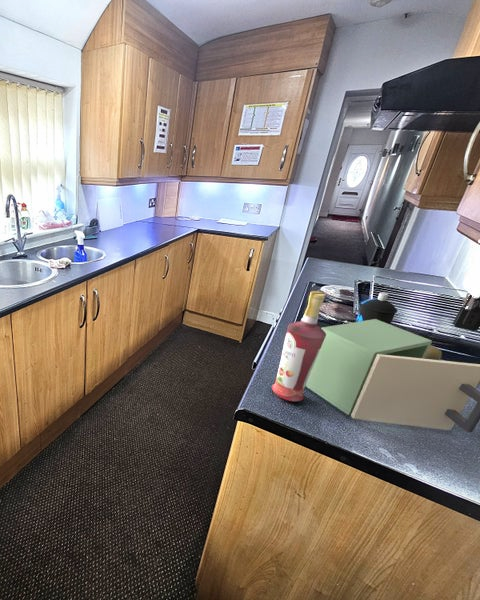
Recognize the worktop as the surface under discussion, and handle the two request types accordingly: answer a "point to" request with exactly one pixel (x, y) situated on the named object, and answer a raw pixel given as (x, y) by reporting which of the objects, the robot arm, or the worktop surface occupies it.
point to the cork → (433, 353)
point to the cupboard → (357, 358)
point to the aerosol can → (377, 309)
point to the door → (419, 393)
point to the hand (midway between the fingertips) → (464, 327)
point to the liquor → (300, 352)
